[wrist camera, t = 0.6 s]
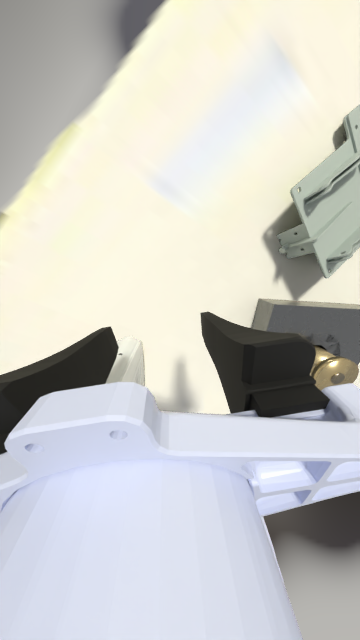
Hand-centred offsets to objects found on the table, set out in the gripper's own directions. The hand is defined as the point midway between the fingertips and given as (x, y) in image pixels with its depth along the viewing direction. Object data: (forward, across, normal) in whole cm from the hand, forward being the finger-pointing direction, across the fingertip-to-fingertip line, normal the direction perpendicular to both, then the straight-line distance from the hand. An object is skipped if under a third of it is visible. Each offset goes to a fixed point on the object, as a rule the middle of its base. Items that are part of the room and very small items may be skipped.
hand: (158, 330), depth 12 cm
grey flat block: (+9, -20, +12) cm, 25 cm away
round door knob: (+9, -20, +12) cm, 25 cm away
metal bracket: (+12, -22, -7) cm, 26 cm away
